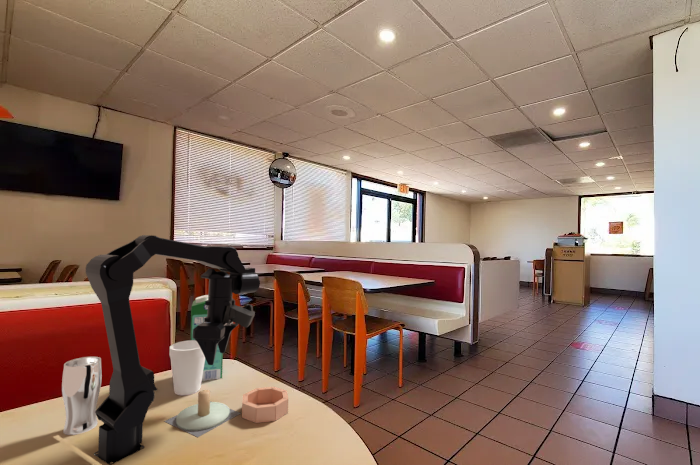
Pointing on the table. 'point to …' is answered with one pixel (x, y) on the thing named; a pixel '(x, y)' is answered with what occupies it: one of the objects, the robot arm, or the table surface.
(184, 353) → the foam cup
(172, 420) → the mat
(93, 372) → the beer glass
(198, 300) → the milk carton
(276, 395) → the bowl
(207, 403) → the lid
